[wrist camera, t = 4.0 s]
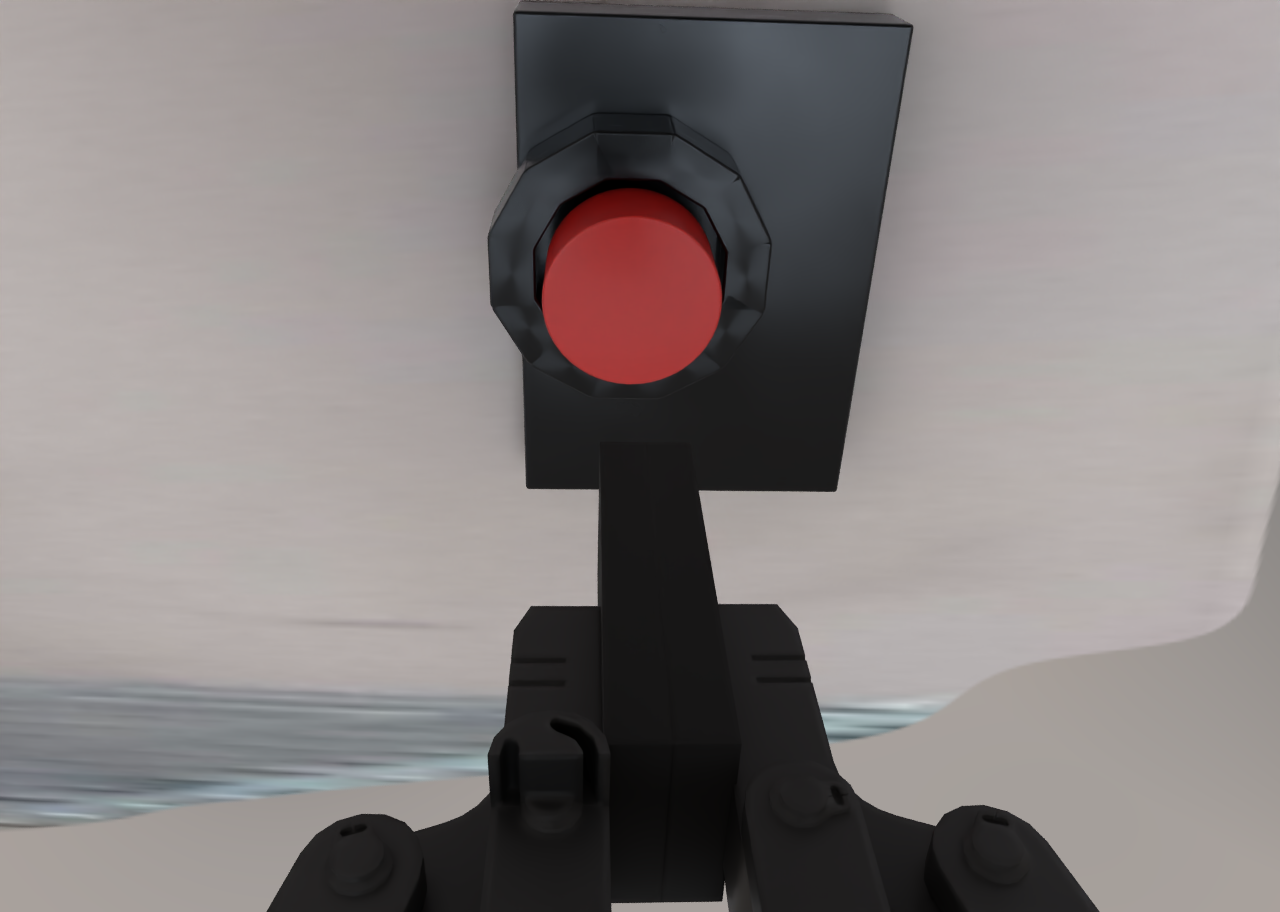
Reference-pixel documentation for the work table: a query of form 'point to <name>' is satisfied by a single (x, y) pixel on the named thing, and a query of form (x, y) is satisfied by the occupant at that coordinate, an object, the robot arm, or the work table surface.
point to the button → (631, 287)
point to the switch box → (707, 222)
